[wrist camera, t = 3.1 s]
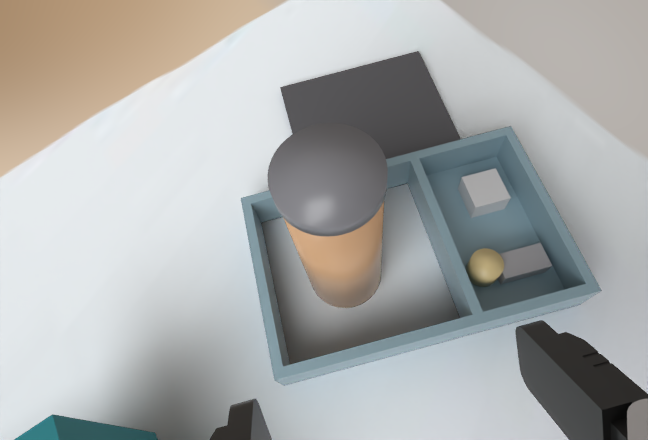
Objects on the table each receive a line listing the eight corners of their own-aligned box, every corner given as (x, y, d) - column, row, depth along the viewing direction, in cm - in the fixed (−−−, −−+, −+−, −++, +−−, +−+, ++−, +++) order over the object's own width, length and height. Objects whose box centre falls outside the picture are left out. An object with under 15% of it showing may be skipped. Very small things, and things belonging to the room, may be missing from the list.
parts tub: (499, 151, 33) (510, 126, 30) (579, 304, 28) (601, 290, 25) (251, 217, 33) (240, 198, 30) (284, 385, 27) (274, 380, 25)
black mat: (417, 55, 38) (418, 51, 37) (462, 149, 33) (463, 145, 33) (281, 91, 38) (280, 87, 37) (307, 190, 33) (307, 187, 33)
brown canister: (370, 231, 31) (367, 110, 20) (392, 297, 29) (403, 207, 17) (301, 249, 31) (258, 139, 20) (318, 318, 29) (280, 240, 17)
